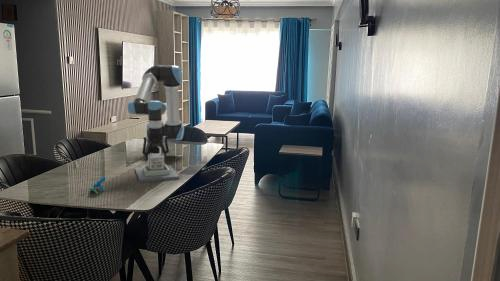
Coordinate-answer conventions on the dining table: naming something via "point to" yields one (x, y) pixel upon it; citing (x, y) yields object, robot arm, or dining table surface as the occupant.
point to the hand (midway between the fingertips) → (155, 164)
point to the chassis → (155, 173)
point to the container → (156, 158)
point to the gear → (98, 185)
